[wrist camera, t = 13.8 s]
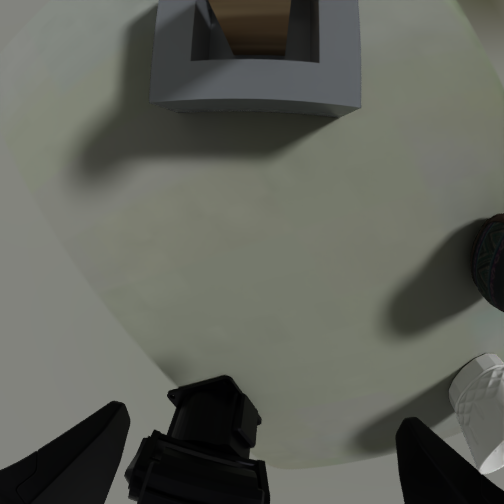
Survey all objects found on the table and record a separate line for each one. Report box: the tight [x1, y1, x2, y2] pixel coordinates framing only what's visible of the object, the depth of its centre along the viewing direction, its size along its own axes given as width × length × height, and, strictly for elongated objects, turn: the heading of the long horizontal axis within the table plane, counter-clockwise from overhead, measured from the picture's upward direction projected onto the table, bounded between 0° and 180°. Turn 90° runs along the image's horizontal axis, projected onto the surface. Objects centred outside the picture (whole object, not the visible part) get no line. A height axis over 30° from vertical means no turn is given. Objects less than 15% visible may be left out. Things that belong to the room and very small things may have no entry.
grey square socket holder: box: [149, 0, 361, 118], centre depth 13 cm, size 10×10×5 cm
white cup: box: [449, 353, 504, 474], centre depth 18 cm, size 8×8×10 cm
